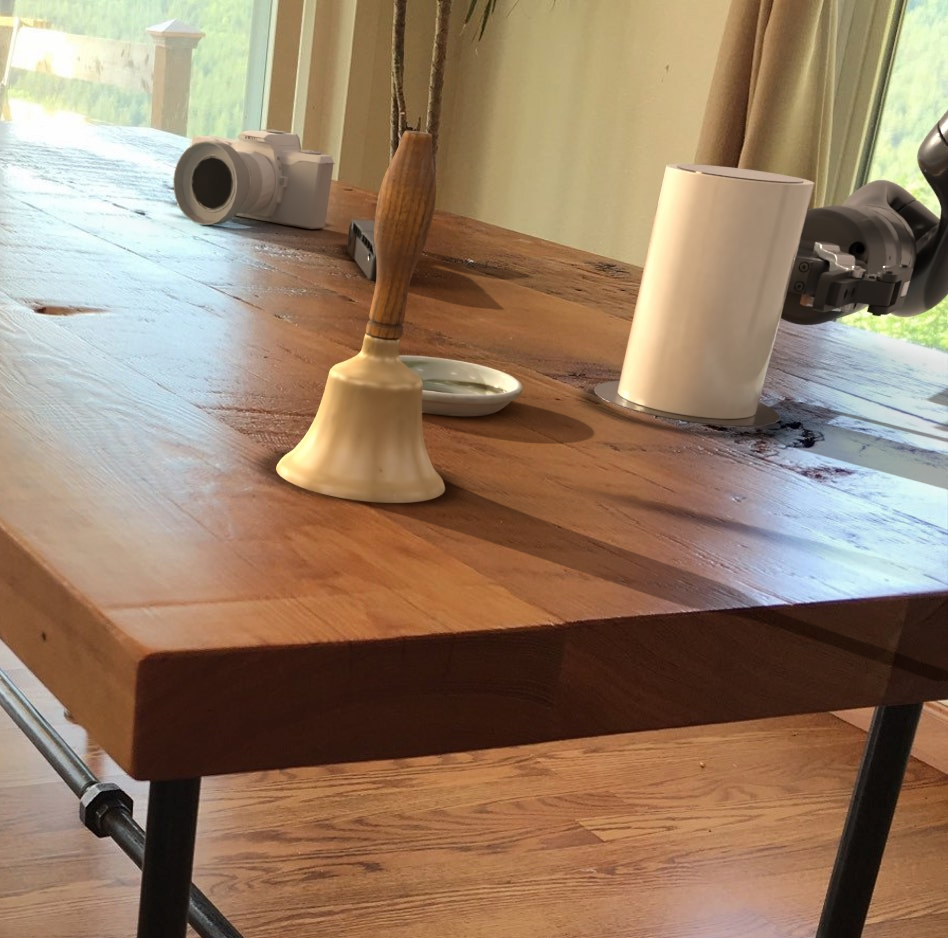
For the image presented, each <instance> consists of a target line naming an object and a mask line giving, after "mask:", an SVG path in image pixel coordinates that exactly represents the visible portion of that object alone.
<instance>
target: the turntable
mask: <svg viewBox="0 0 948 938" xmlns="http://www.w3.org/2000/svg"><path fill="white" fill-rule="evenodd" d="M619 382H620V380H613V381H607V382H602V383H599V384H597V385H596V386H594V389H593V392H594V393H595V395H597V396H598V397H599V398H601V399H602V400H604V401H607V402H609V403H611V404H613V405H615V406H618V407H621V408H623V409H628V410H630V411H634V412H637V413H641V414H646V415H650V416H654V417H657V418H658V417H659V418H664V419H669V420H674V421H681V422H687V423H694V424H700V425H701V424H702V425H711V426H723V427H761V426H767V425H772V424H776V423H777V422H779V421H780V420H781V414H780V413H779V411H776V409H774V408H772V407H770V406H769V405H766V404H764V403H762V402H760V401H759V405H758V409H757V413H756V414H755V415H754V416H751V417H748V418H741V419H714V418H702V417H694V416H686V415H680V414H674V413H669V412H664V411H660V410H656V409H652V408H648V407H645V406H641V405H638V404H636V403H633V402H630V401H628V400H626V399H624V398H623V397H621V396H620V395H619V394H618V386H619Z"/></svg>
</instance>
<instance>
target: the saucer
mask: <svg viewBox="0 0 948 938" xmlns="http://www.w3.org/2000/svg"><path fill="white" fill-rule="evenodd" d="M399 358H400V360H401V361H402V362H403V363H404V364H405V365H406V366H407V367H408V368H409V369H410V370H412V371H413V372H415V373H416V374H418V375H419V377H420V378H421V379H422V383H423V391H422V414H426V415H427V414H430V415H436V416H445V417H449V416H450V417H482V416H488V415H489V416H490V415H492V414H495V413H497V412H500V411H501V410H502V409H504V408H505V407H506V406H508V405H509V404H510V403H511V402H512V401H515V400H517V399H518V398H520V396H522V393H523V390H524V389H523V385H522V383H521V381H519V379H517V378H515V377H514V376H512V375H511V374H509V373H506V372H503V371H501V370H498V369H495V368H493V367H489V366H485V365H482V364H477V363H473V362H468V361H467V362H466V361H462V360H456V359H451V358H442V357H432V356H423V355H399Z"/></svg>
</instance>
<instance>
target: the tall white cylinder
mask: <svg viewBox="0 0 948 938" xmlns="http://www.w3.org/2000/svg"><path fill="white" fill-rule="evenodd" d="M661 182H662V183H661V187H660V190H659V196H658V200H657V205H656V209H655V214H654V219H653V224H652V228H651V233H650V237H649V242H648V247H647V252H646V256H645V260H644V266H643V270H642V275H641V280H640V284H639V289H638V293H637V299H636V302H635V307H634V312H633V317H632V322H631V326H630V330H629V335H628V340H627V345H626V349H625V355H624V359H623V363H622V368H621V373H620V378H619V381H620V382H619V386H618V394H619V395H620V396H621V397H623V398H624V399H626V400H628V401H630V402H633V403H636V404H638V405H641V406H645V407H648V408H652V409H656V410H660V411H664V412H669V413H674V414H680V415H686V416H694V417H702V418H714V419H741V418H748V417H751V416H754V415H755V414H756V413H757V409H758V405H759V402H760V400H761V398H762V393H763V389H764V385H765V381H766V378H767V373H768V370H769V366H770V362H771V357H772V354H773V350H774V346H775V342H776V338H777V333H778V330H779V326H780V322H781V314H782V310H783V307H784V303H785V299H786V295H787V291H788V287H789V283H790V279H791V275H792V271H793V267H794V263H795V259H796V255H797V251H798V247H799V243H800V239H801V236H802V232H803V228H804V224H805V220H806V216H807V212H808V209H810V208H809V207H810V205H811V204H810V203H811V200H812V197H813V196H812V195H813V193H814V192H813V191H814V188H815V182H813V181H812V180H809V179H805V178H802V177H796V176H791V175H787V174H786V175H785V174H781V173H774V172H770V171H769V172H768V171H761V170H755V169H747V168H739V167H729V166H719V165H709V164H693V163H691V164H690V163H669V164H666V165H665V167H664V172H663V177H662V181H661Z"/></svg>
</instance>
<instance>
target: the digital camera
mask: <svg viewBox="0 0 948 938" xmlns="http://www.w3.org/2000/svg"><path fill="white" fill-rule="evenodd" d="M334 165H335V162H334V160H333V156H332V155H329V154H325V153H322V151H319V150H312V149H302V146H301V140H300V136H299V134H296V133H290V132H289V131H281V130H278V129H261V130H245V131H242V132H240V133H239V134H238V135H237V139H234V138H228V137H220V136H213V135H194V136H193V137H192V138H191V140H190V144H189V147H188V148H186V149H185V150H184V151H183V153H182V154H181V155H180V157H179V159H178V161H177V163H176V166H175V169H174V172H173V173H174V174H173V193H174V198H175V200H176V205H177V207H178V208H179V209H180V211H181V213H182V214H183V215H184V216H185V217H186V218H187V219H188V220H189V221H190V222H191V221H192V222H193V223H195V224H198V225H202V226H204V225H208V226H209V225H221V224H225V223H226V222H229V221H230V220H232V219H233V218H234V217H235V216H238V217H243V218H248V219H252V220H258V221H264V222H269V223H274V224H280V225H285V226H291V227H296V228H301V229H308V230H319V229H321V230H322V229H324V228H326V224H327V214H328V208H329V202H330V201H329V200H330V192H331V187H332V186H331V185H332V177H333V170H334Z"/></svg>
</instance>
